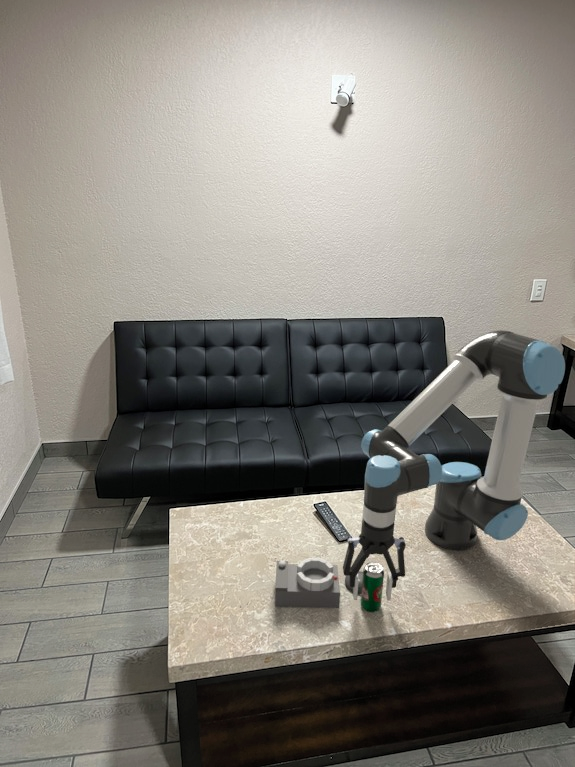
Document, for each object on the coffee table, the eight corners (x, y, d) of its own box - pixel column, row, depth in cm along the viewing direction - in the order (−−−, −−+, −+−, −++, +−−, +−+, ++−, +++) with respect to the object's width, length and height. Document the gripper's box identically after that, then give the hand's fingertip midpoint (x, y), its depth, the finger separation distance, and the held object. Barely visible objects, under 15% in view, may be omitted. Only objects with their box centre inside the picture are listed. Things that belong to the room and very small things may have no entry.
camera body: (336, 580, 143) (337, 557, 141) (339, 608, 134) (340, 584, 131) (276, 578, 143) (276, 556, 141) (275, 606, 134) (275, 583, 131)
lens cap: (371, 573, 146) (371, 570, 145) (375, 594, 139) (375, 590, 138) (343, 573, 146) (343, 569, 145) (346, 593, 139) (346, 590, 138)
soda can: (358, 599, 137) (361, 561, 133) (378, 598, 137) (381, 560, 133) (362, 614, 132) (366, 575, 128) (383, 613, 133) (386, 574, 128)
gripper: (418, 510, 129) (409, 586, 137) (333, 509, 129) (329, 584, 137) (425, 530, 122) (415, 608, 130) (335, 528, 122) (331, 606, 130)
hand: (371, 596), depth 134 cm, fingers open, 8 cm apart
